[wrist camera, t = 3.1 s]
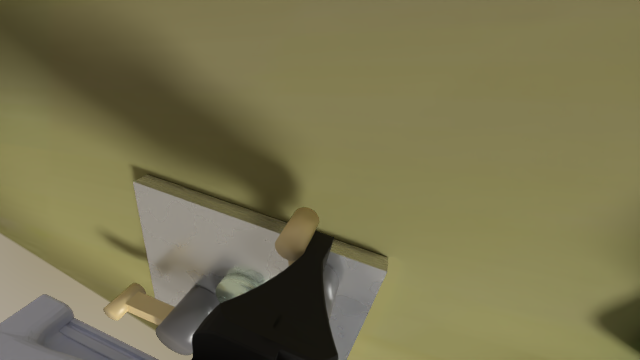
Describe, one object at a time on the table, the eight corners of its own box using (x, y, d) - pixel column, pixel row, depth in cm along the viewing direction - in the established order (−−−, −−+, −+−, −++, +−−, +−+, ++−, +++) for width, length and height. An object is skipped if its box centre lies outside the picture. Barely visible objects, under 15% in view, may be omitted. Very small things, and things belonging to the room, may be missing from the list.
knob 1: (222, 296, 21) (191, 338, 18) (221, 319, 23) (193, 362, 20) (141, 263, 22) (99, 297, 19) (146, 287, 24) (108, 323, 21)
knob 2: (338, 299, 18) (325, 353, 14) (294, 289, 18) (272, 338, 15) (341, 199, 14) (323, 242, 11) (285, 192, 15) (255, 230, 12)
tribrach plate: (338, 368, 23) (332, 396, 22) (166, 295, 26) (147, 315, 24) (388, 257, 17) (386, 285, 15) (147, 174, 19) (118, 188, 17)
